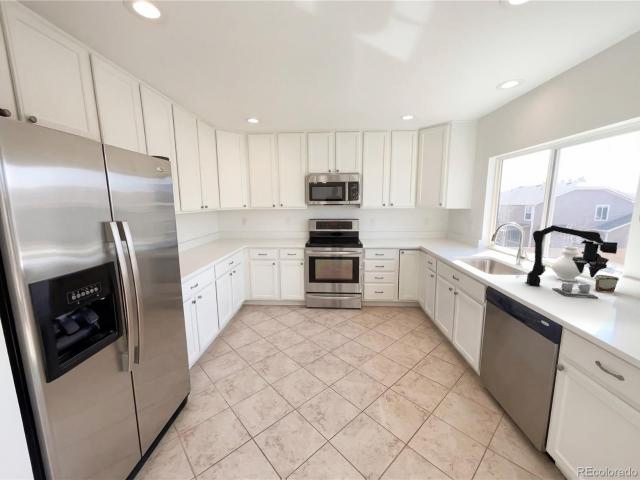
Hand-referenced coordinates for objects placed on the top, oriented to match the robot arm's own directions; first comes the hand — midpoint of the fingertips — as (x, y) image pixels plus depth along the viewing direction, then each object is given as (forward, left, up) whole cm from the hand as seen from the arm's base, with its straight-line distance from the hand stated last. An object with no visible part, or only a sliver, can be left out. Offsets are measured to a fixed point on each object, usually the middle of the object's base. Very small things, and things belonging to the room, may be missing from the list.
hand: (586, 275), depth 155 cm
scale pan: (-4, 0, -12) cm, 13 cm away
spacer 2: (0, 0, -11) cm, 11 cm away
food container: (+17, +12, -13) cm, 25 cm away
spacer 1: (-9, 0, -11) cm, 14 cm away
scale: (-5, 0, -13) cm, 14 cm away
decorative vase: (+11, +35, -13) cm, 39 cm away
